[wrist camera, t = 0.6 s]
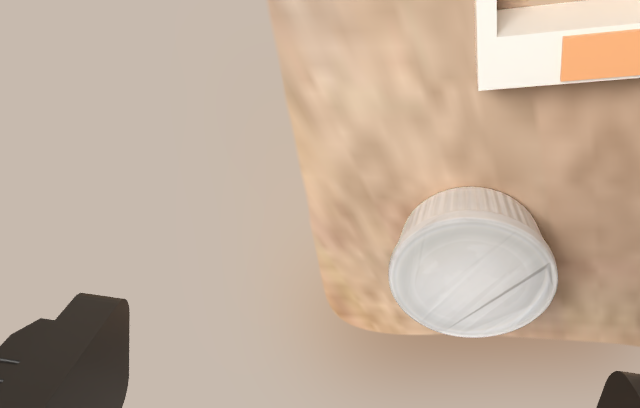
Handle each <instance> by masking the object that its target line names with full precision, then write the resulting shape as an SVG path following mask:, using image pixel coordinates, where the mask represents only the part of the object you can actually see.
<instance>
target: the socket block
mask: <svg viewBox="0 0 640 408" xmlns="http://www.w3.org/2000/svg"><path fill="white" fill-rule="evenodd" d="M474 20H475V59H476V71H477V82H478V91H483V90H495V89H507V88H520V87H532V86H544V85H557V84H569V83H582V82H594V81H606V80H619V79H631V78H640V0H583V1H574V2H565V3H556V4H547V5H537V6H528V7H519V8H510V9H501V10H497V0H474Z"/></svg>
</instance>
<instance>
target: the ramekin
mask: <svg viewBox="0 0 640 408" xmlns="http://www.w3.org/2000/svg"><path fill="white" fill-rule="evenodd" d="M389 285H390V289H391V292H392V294H393V296H394V298H395V300H396V302H397V303H398V305H399V306H400V307H401V308H402V310H403V311H404V312H406V313H407V314H408V315H409V316H410V317H411V318H412V319H414V320H415V321H417V322H418V323H420V324H422V325H423V326H425V327H427V328H429V329H431V330H434V331H437V332H440V333H443V334H447V335H452V336H458V337H469V338H470V337H471V338H479V337H490V336H496V335H502V334H505V333H508V332H511V331H514V330H517V329H519V328H521V327H523V326H525V325H527V324H529V323H530V322H532V321H533V320H535V319H536V318H537V317H539V316H540V315H541V314H542V313H543V312H544V311H545V310H546V309H547V307H548V306H549V305H550V303H551V302H552V300H553V298H554V296H555V293H556V290H557V286H558V271H557V265H556V261H555V258H554V255H553V253H552V251H551V249H550V248H549V246H548V244H547V243H546V242H545V240H544V239H543V237H542V235H541V233H540V230H539V228H538V226H537V224H536V222H535V220H534V219H533V217H532V215H531V214H530V213H529V211H527V210H526V208H525V207H524V206H523V205H521V204H520V203H519V202H518V201H516V200H515V199H513V198H512V197H510V196H508V195H506V194H504V193H502V192H499V191H495V190H493V189H488V188H483V187H458V188H453V189H448V190H445V191H443V192H439V193H437V194H436V195H433V196H431V197H429V198H428V199H427V200H425V201H423V202H422V203H421V204H420V205H418V206H417V207H416V208H415V209H414V210H413V211H412V213H411V215H410V216H409V217H408V219H407V221H406V223H405V225H404V227H403V231H402V233H401V236H400V239H399V242H398V243H397V245H396V247H395V248H394V250H393V253H392V255H391V259H390V263H389Z"/></svg>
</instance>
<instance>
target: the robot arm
mask: <svg viewBox="0 0 640 408" xmlns="http://www.w3.org/2000/svg"><path fill="white" fill-rule="evenodd" d="M128 379H129V305H128V302H127V300H126V299H120V298H113V297H106V296H99V295H92V294H85V293H79V294H78V295H76V297H74V299H73V300H72V301H71V302H70V303H69V305H68V306H67V307H66V308H65V309H64V310H63V312H62V313H61V314H60V315H59V316H58V317H57V319H56V320H49V319H39V320H37V321H35V322H33V323H31V324H30V325H28V326H26V327H24V328H22V329H20V330H19V331H17V332H15V333H13V334H11V335H10V336H9V338H7V339H6V341H5V342H4V343H3V344H2V345H1V346H0V408H122V406H123V403H124V400H125V396H126V391H127V386H128ZM597 408H640V374H635V373H628V372H621V371H615V372H613V373H612V374H611V375H610V376H609V377H608V379H607V381H606V383H605V386H604V389H603V392H602V394H601V397H600V400H599V402H598V406H597Z"/></svg>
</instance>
